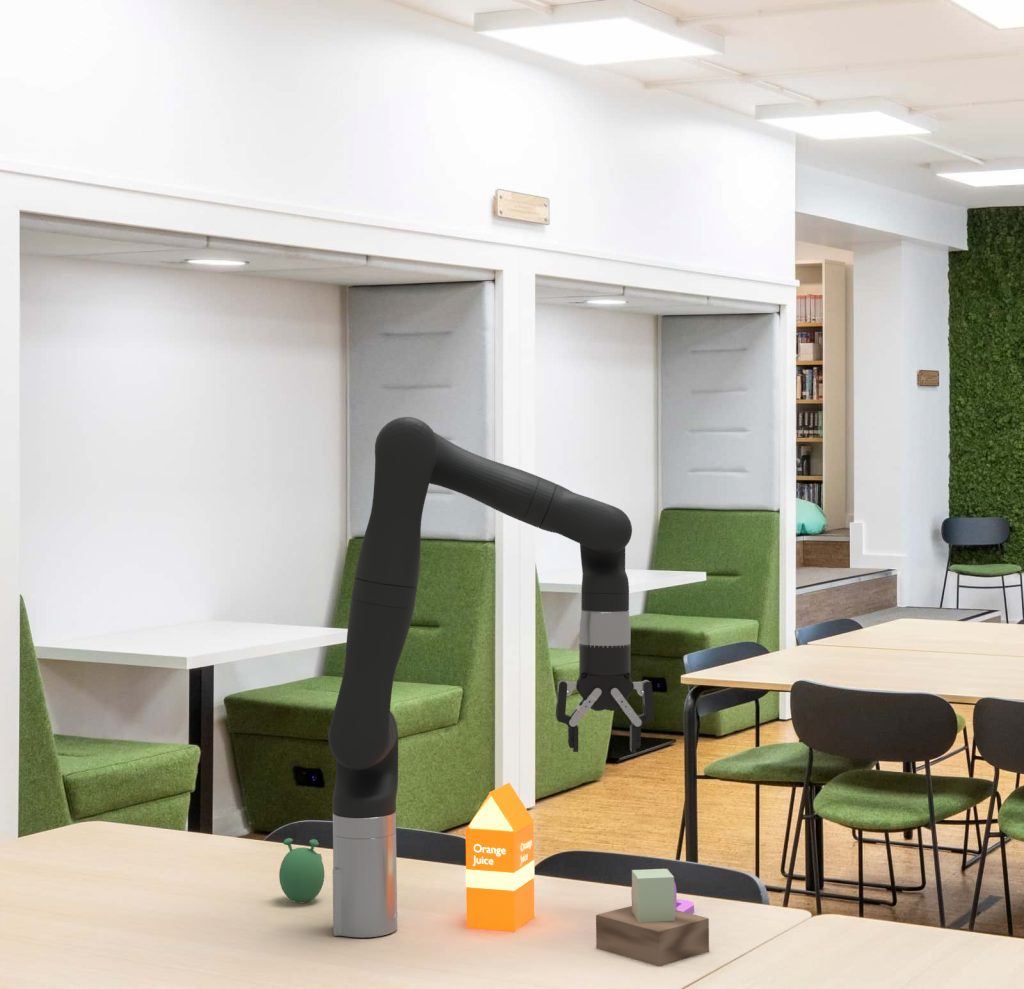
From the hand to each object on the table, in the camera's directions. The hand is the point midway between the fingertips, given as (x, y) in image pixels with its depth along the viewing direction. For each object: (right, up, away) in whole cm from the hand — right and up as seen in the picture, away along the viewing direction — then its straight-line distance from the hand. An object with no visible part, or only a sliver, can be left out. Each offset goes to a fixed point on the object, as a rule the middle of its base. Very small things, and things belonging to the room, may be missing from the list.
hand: (604, 751), depth 238 cm
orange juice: (-15, -26, +2) cm, 30 cm away
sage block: (+6, -21, -14) cm, 26 cm away
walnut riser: (+6, -26, -13) cm, 30 cm away
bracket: (+9, -26, +3) cm, 28 cm away
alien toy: (-46, -26, +15) cm, 56 cm away
